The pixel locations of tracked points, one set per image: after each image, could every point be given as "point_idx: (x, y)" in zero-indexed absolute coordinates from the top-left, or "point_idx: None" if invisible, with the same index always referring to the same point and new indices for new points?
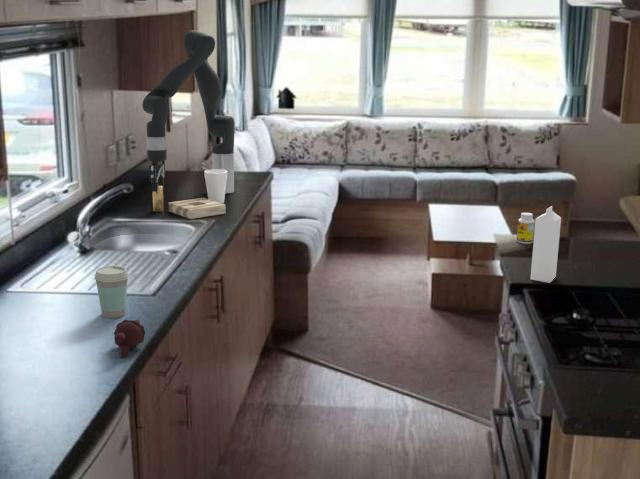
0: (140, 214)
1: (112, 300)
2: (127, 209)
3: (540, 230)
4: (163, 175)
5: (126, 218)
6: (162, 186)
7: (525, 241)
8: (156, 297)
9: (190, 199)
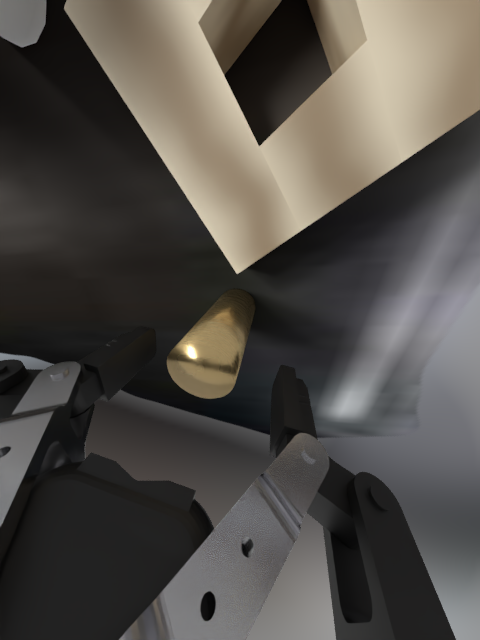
0: (285, 359)
1: None
2: None
3: None
4: (56, 383)
5: (334, 394)
6: (205, 343)
7: None
8: None
9: (147, 135)
